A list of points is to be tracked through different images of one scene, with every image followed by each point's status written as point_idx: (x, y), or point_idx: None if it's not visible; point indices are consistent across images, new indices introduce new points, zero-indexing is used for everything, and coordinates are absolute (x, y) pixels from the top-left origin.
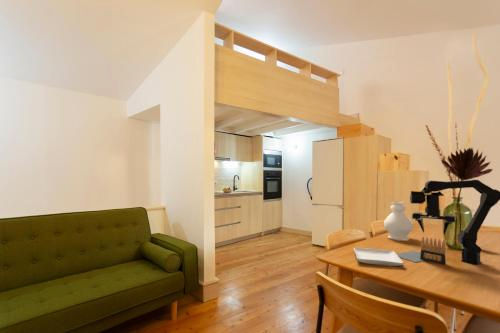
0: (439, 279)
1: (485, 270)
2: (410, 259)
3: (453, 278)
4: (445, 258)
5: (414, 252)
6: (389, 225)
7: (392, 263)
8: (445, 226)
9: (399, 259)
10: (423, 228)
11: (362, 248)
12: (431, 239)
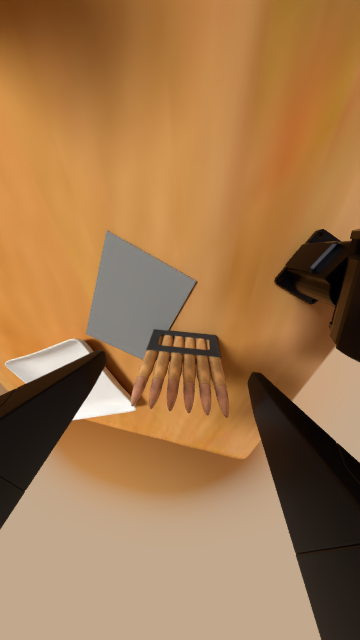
0: (197, 418)
1: (314, 340)
2: (134, 349)
3: (219, 409)
4: (218, 345)
5: (119, 263)
6: None
7: (120, 408)
8: (305, 534)
9: (122, 393)
10: (82, 393)
11: (19, 359)
12: (172, 404)
